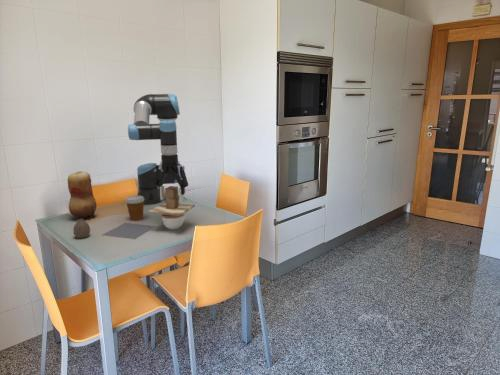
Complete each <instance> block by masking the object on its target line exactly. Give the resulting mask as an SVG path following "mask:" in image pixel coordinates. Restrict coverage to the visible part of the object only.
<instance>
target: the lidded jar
mask: <svg viewBox="0 0 500 375" xmlns="http://www.w3.org/2000/svg"><path fill="white" fill-rule="evenodd" d="M161 219H162V223H163V226H164V227H165V228H167V229H168V230H177V229H180V228H181V227H182V226H183V225H184V222H185V213H184V214H182V215H181V216H174V215H164V214H161Z"/></svg>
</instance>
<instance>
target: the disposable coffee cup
mask: <svg viewBox="0 0 500 375" xmlns="http://www.w3.org/2000/svg"><path fill="white" fill-rule="evenodd" d="M144 200H145V199H144V197H143V196H138V194H137V195H131V196H127V197H126V198H125V202H126V206H127V211H128V214H129V215H128V216H129V219H130V221H133V222H138V221H141V220H143V219H144V205H145V204H144Z"/></svg>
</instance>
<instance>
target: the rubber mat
mask: <svg viewBox="0 0 500 375" xmlns="http://www.w3.org/2000/svg"><path fill="white" fill-rule="evenodd" d="M155 227H157V226H156V225H152V224H151V225H150V224H142V223H141V224H139V223H132V222H124V223H122V224H120V225H118V226H117V227H114V228H113V229H110V230H109V231H107V232H105V233H103V234H102V236H103V237H104V236H106V237H113V238H122V239H130V240H136V239H138V238H140V237H142V236H143V235H144V234H147V232H149V231H151V230H153V229H154V228H155Z"/></svg>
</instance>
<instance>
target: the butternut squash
mask: <svg viewBox="0 0 500 375" xmlns="http://www.w3.org/2000/svg"><path fill="white" fill-rule="evenodd" d="M67 188H68V192H69V195H70V199H69V202H68V212H69V213H70V214H71V215H72V216H73V217H75V218H78V219H87V218H88V217H90V216H93V215H94V214H95V212H96V210H97V207H98V206H97V201H96V199H95V196H94V193H93V186H92V178H91V175H90V173H88V171H83V170H80V171H76V172H75V171H74V172H72V173H70V174H69V175H68V177H67Z"/></svg>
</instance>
